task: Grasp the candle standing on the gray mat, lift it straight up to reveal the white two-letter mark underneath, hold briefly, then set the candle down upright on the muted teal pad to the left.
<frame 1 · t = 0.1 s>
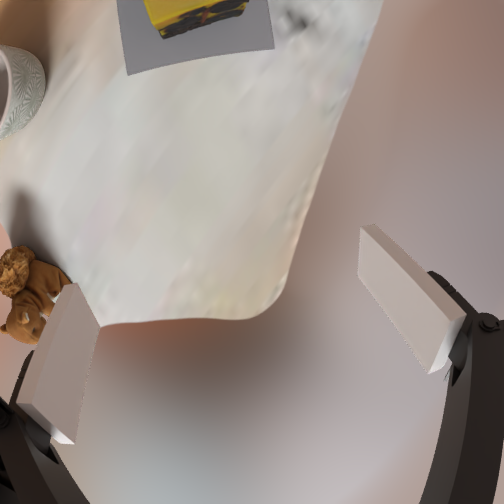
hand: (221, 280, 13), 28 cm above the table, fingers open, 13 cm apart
planter: (18, 90, 27), on the table
stuffed squirrel: (38, 269, 41), on the table
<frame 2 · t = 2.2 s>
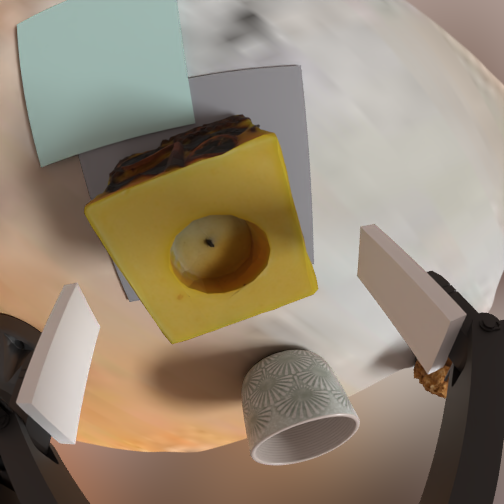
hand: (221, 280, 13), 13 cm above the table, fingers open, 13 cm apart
gray mat: (201, 190, 24), on the table
planter: (282, 370, 38), on the table
pad: (97, 64, 17), on the table
stuffed squirrel: (435, 345, 44), on the table
candle: (201, 191, 24), resting on gray mat
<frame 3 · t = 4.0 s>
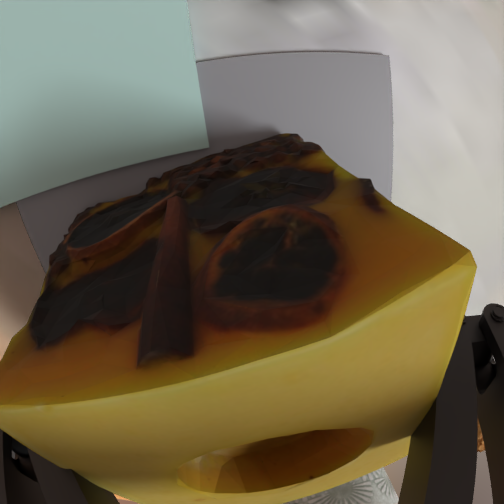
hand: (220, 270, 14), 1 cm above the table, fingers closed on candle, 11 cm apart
gray mat: (219, 260, 15), on the table
planter: (310, 442, 28), on the table
pad: (39, 45, 8), on the table
candle: (219, 261, 15), resting on gray mat, touching gripper
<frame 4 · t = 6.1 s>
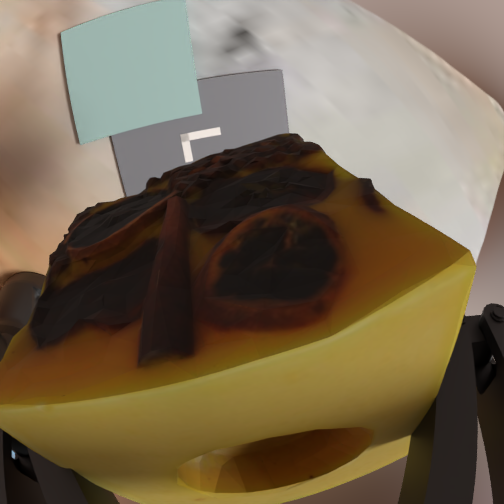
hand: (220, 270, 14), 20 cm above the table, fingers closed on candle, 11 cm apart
gray mat: (206, 165, 31), on the table
pad: (128, 67, 24), on the table
candle: (219, 261, 15), point 19 cm above the table, touching gripper
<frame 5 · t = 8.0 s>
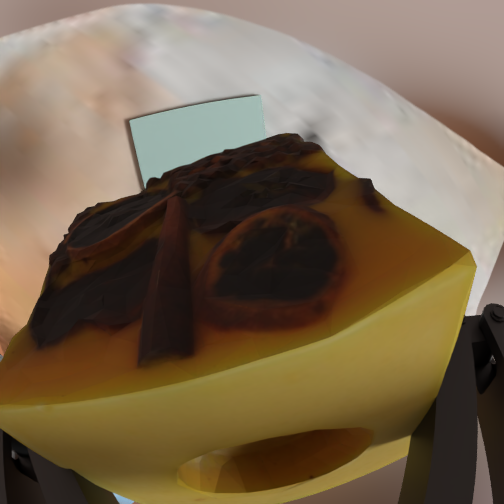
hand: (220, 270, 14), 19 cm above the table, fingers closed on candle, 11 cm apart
pad: (205, 166, 31), on the table
candle: (219, 261, 15), point 19 cm above the table, touching gripper
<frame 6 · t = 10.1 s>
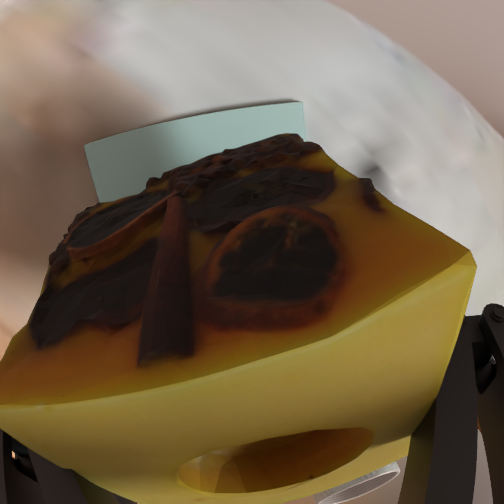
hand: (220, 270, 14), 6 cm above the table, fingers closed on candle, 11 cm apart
planter: (335, 430, 40), on the table
pad: (209, 217, 20), on the table
candle: (219, 261, 15), point 6 cm above the table, touching gripper
when the fingers open (2 cm above the table, at t = 12.0 s): candle drops 1 cm, resting on pad.
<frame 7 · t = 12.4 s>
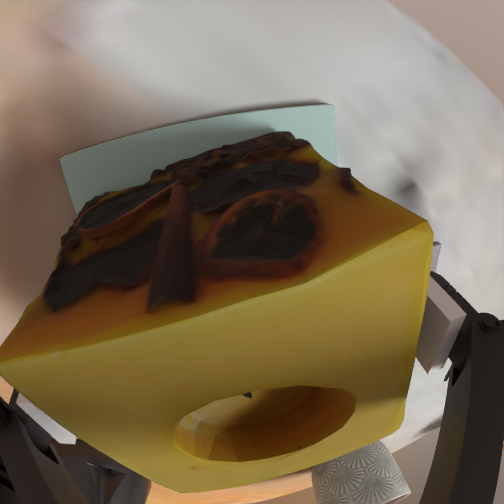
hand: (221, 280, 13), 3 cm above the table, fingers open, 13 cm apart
planter: (344, 451, 36), on the table
pad: (216, 245, 16), on the table
candle: (216, 249, 16), resting on pad
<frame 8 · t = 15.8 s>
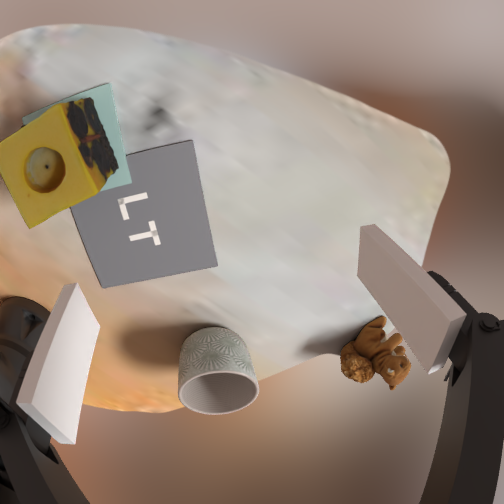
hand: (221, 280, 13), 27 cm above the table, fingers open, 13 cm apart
gray mat: (139, 221, 39), on the table
planter: (212, 344, 52), on the table
pad: (74, 147, 32), on the table
stuffed squirrel: (361, 339, 60), on the table
candle: (73, 148, 32), resting on pad
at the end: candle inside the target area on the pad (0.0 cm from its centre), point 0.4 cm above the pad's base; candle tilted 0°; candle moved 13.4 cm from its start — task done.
